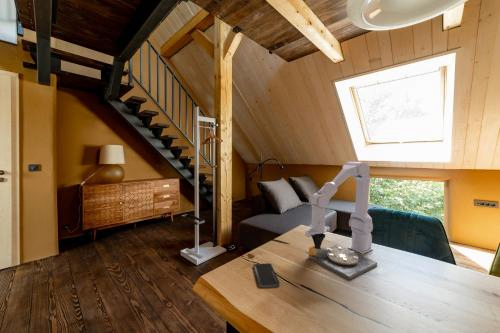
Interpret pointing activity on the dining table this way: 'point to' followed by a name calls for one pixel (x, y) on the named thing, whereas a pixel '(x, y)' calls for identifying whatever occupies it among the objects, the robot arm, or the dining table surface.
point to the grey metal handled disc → (336, 255)
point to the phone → (265, 276)
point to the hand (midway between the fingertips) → (317, 248)
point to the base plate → (344, 270)
